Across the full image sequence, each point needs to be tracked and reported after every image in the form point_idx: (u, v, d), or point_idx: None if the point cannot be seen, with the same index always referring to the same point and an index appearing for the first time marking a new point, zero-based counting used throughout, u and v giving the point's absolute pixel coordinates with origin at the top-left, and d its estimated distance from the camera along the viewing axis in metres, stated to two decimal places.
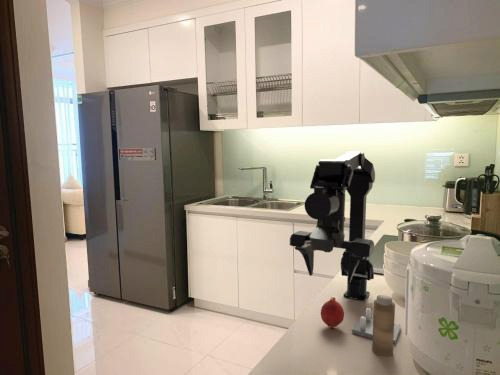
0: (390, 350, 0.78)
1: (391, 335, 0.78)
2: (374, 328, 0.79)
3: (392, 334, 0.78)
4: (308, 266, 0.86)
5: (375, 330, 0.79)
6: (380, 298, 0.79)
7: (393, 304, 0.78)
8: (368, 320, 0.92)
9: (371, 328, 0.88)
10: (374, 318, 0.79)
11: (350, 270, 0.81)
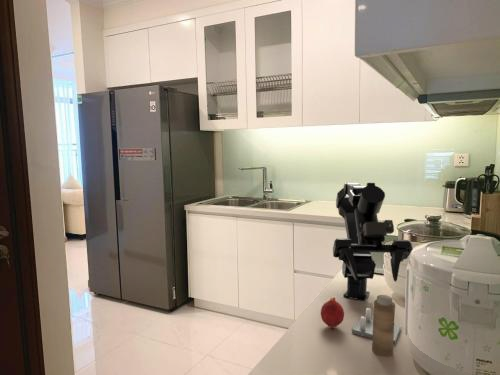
0: (390, 350, 0.78)
1: (391, 335, 0.78)
2: (374, 328, 0.79)
3: (392, 334, 0.78)
4: (354, 269, 0.87)
5: (375, 330, 0.79)
6: (380, 298, 0.79)
7: (393, 304, 0.78)
8: (368, 320, 0.92)
9: (371, 328, 0.88)
10: (374, 318, 0.79)
11: (396, 266, 0.87)
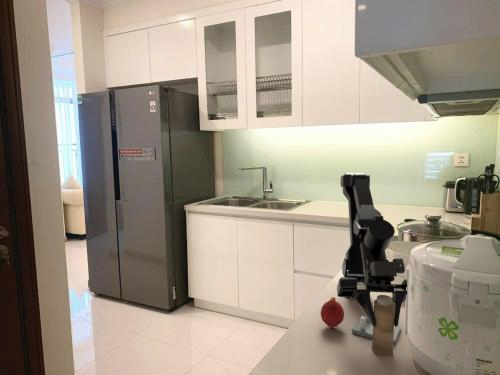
0: (390, 349, 0.78)
1: (391, 335, 0.78)
2: (374, 328, 0.79)
3: (392, 334, 0.78)
4: (371, 313, 0.79)
5: (375, 330, 0.79)
6: (380, 298, 0.79)
7: (393, 304, 0.78)
8: (368, 320, 0.92)
9: (371, 328, 0.88)
10: None
11: (397, 309, 0.79)
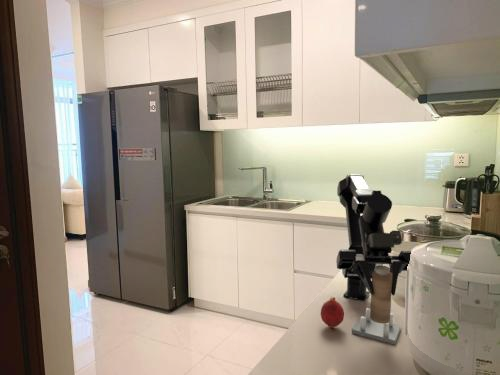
0: (387, 317, 0.82)
1: (388, 303, 0.81)
2: (372, 297, 0.83)
3: (389, 302, 0.82)
4: (369, 283, 0.82)
5: (374, 299, 0.82)
6: (378, 268, 0.82)
7: (390, 274, 0.82)
8: (368, 320, 0.92)
9: (371, 328, 0.88)
10: None
11: (394, 279, 0.82)
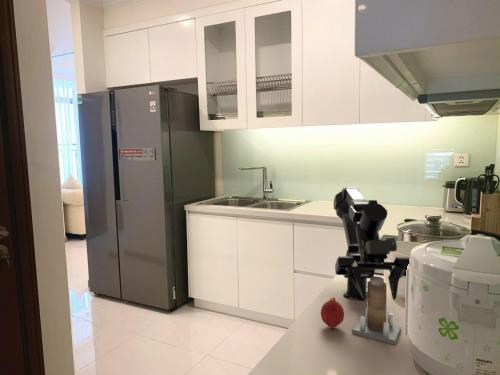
0: (383, 325, 0.87)
1: (384, 312, 0.86)
2: (368, 307, 0.88)
3: (385, 311, 0.87)
4: (362, 287, 0.87)
5: (370, 308, 0.87)
6: (373, 279, 0.87)
7: (385, 284, 0.87)
8: None
9: None
10: (368, 298, 0.87)
11: (395, 284, 0.87)
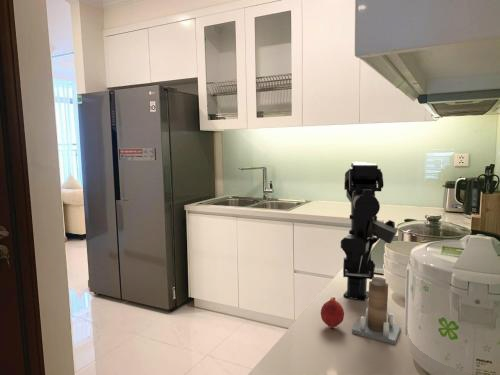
0: None
1: (385, 312, 0.86)
2: (369, 307, 0.87)
3: (386, 312, 0.87)
4: (360, 265, 0.91)
5: (371, 308, 0.87)
6: (375, 279, 0.87)
7: (386, 285, 0.87)
8: None
9: None
10: (369, 298, 0.87)
11: (370, 252, 1.00)
